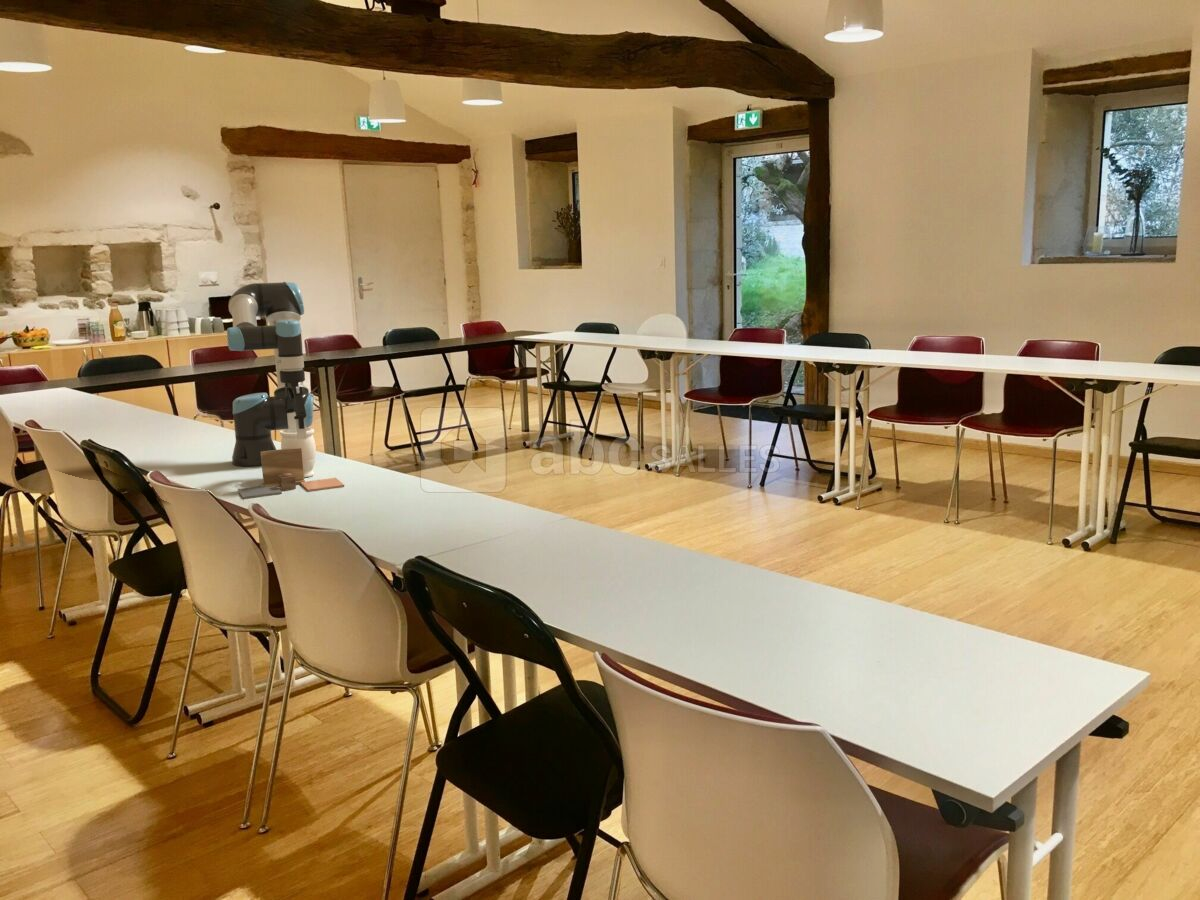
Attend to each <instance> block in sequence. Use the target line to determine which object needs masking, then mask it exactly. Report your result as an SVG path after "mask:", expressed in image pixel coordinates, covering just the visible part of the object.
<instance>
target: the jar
mask: <svg viewBox="0 0 1200 900" xmlns="http://www.w3.org/2000/svg"><path fill="white" fill-rule="evenodd" d="M314 433H315V429H314V428H313V427H306V437H307V439H297V429H296V428H291V429H284V430H280V431H279V434H280V436H281V441H280V449H289V448H298V447H301V450H302V462H303V474H304V479H305V478H311V477H313V476H314V475H315V472H314V471H313V469H314V467H315V463H316V451H317V450H316V449H317V447H316V442H315V437H314V435H313V434H314Z"/></svg>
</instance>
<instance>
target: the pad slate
mask: <svg viewBox="0 0 1200 900" xmlns="http://www.w3.org/2000/svg"><path fill="white" fill-rule="evenodd" d="M236 491H237V492H238V493H239V496H241V498H242V499H243V500H244V499H245V500H246V499H252V498H253V499H254V498H261V497H262V498H263V497H269V496H277V495H282V494H283V493H282V490H281V489H280V488H279V487H277V486H276V485H275V486H267V487H265V486H263V485H259V486H253V487H252V486H251V487H244V488H242V487H241V488H237V489H236Z"/></svg>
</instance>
